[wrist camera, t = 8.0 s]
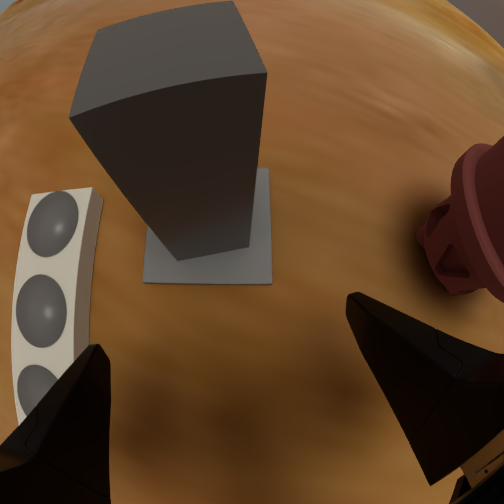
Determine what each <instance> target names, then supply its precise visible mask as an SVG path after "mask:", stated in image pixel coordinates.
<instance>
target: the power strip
mask: <svg viewBox="0 0 504 504" xmlns="http://www.w3.org/2000/svg"><path fill="white" fill-rule="evenodd" d="M103 201H104V200H103V199H102V198H101V196H100V195H99V194H98V193H97V192H96V191H95V190H94V189H93V188H82V189H72V190H63V191H55V192H47V193H40V194H33V195H32V196H31V200H30V204H29V208H28V211H27V216H26V220H25V224H24V229H23V233H22V238H21V244H20V249H19V255H18V261H17V268H16V276H15V284H14V294H13V307H12V333H11V348H12V373H13V386H14V395H15V404H16V411H17V417H18V423H19V425H20V424H21V423H22V422H23V420H24V419H25V418H26V417H27V416H28V415H29V413H30V412H31V411H32V410H33V409H34V407H35V406H37V404H38V403H39V401H40V400H41V399H42V398H43V397H44V395H45V394H46V393H47V392H48V391H49V389H50V388H51V387H52V386H53V385H54V384H55V382H56V381H57V380H58V379H59V378H60V377H61V376H62V374H63V373H64V372H65V371H66V370H67V369H68V368H69V366H70V365H71V364H72V363H73V362H74V361H75V360H76V359H77V357H78V356H79V355H80V354H81V353H82V352H83V351H84V350H85V349H86V348H87V346H88V345H89V315H90V297H91V284H92V274H93V264H94V256H95V248H96V241H97V235H98V228H99V222H100V217H101V211H102V206H103Z"/></svg>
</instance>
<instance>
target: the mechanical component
mask: <svg viewBox="0 0 504 504" xmlns="http://www.w3.org/2000/svg"><path fill="white" fill-rule="evenodd" d="M416 239H417V242H418V243H419V244H420V245H421V246H422V247H423V248H424V249H425V251H426V255H427V258H428V261H429V264H430V266H431V268H432V270H433V272H434V274H435V275H436V277H437V279H438V280H439V281H440V282H441V283H442V284H443V286H445V287H446V290H447V292H448V293H449V294H451V295H455V294H467V293H471V292H473V291H475V290H477V289H480V288H487V289H488V290H489V292H490V293H491V294H492V295H494V296H495V297H496V298H497V299H498V300H500V301H501V302H503V303H504V136H503V137H502V138H501V139H500V140H499V141H498V142H497V143H496V144H495V145H494V146H491V145H488V144H481V143H480V144H475V145H473V146H472V147H470V148H469V149H468V150H467V151H466V152H465V153H464V154H463V155H462V156H461V157H460V158H459V159H458V160H457V162H456V163H455V166H454V168H453V171H452V177H451V196H449V197H448V198H447V199H445V200H444V201H443V202H442V203H440V204H439V205H438V206H436V207H435V208H434V209H433V210H432V211H431V212H430V213H429V215H428V217H427V219H426V223H425V224H424V225H423V226H421V227H420V228H418V229H417V231H416Z"/></svg>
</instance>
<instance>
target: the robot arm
mask: <svg viewBox="0 0 504 504" xmlns="http://www.w3.org/2000/svg"><path fill="white" fill-rule="evenodd" d="M346 317H347V320H348V322H349V324H350V327H351V329H352V332H353V334H354V336H355V339H356V341H357V343H358V346H359V348H360V350H361V352H362V354H363V356H364V358H365V360H366V362H367V363H368V365H369V367H370V369H371V371H372V373H373V374H374V376H375V378H376V380H377V382H378V384H379V385H380V387H381V389H382V391H383V393H384V395H385V397H386V398H387V400H388V402H389V404H390V406H391V408H392V410H393V412H394V414H395V416H396V418H397V419H398V421H399V423H400V425H401V427H402V429H403V431H404V433H405V435H406V437H407V439H408V441H409V444H410V446H411V448H412V450H413V452H414V454H415V456H416V458H417V460H418V462H419V464H420V466H421V468H422V470H423V472H424V475H425V477H426V479H427V481H428V483H429V485H430V486H432V485H433V484H435V483H436V482H438V481H440V480H441V479H443V478H444V477H446V476H447V475H449V474H450V473H452V472H453V471H454V470H456V469H457V468H459V467H461V469H462V471H463V473H464V475H463V476H461V477H460V478H458V479H457V482H456V486H455V489H454V491H453V494H452V497H451V500H450V503H449V504H504V354H499V353H494V352H491V351H488V350H486V349H483V348H480V347H478V346H475V345H472V344H470V343H467V342H465V341H462V340H460V339H457V338H455V337H453V336H450V335H448V334H446V333H444V332H442V331H440V330H438V329H436V330H435V328H433V327H431V326H429V325H427V324H425V323H423V322H421V321H419V320H417V319H415V318H413V317H411V316H409V315H406V314H404V313H402V312H400V311H398V310H396V309H394V308H392V307H390V306H388V305H386V304H384V303H381V302H379V301H377V300H375V299H373V298H371V297H369V296H367V295H365V294H362V293H360V292H354V293H351V294H349V295H348V296H347V302H346ZM110 409H111V373H110V360H109V358H108V356H107V355H106V353H105V352H104V350H103V348H102V347H101V346H100V345H99V344H91V345H88V346H87V348H86V349H85V350H84V351H83V352H82V353H81V354H80V355H79V356H78V357H77V359H76V360H75V361H74V362H73V363H72V364H71V365H70V366H69V368H68V369H67V370H66V371H65V372H64V373H63V374H62V376H61V377H60V378H59V379H58V380H57V381H56V382H55V384H54V385H53V386H52V387H51V388H50V389H49V391H48V392H47V393H46V394H45V395H44V397H43V398H42V399H41V400H40V401H39V403H38V404H37V406H35V407H34V409H33V410H32V411H31V412H30V413H29V415H28V416H27V417H26V418H25V419H24V420H23V422H22V423H21V424H20V425H19V426H18V427H17V428H16V429H15V430H14V431H13V432H12V433H11V434H10V436H9V437H8V438H7V439H6V440H5V441H4V442H3V443H2V444H1V445H0V504H111V499H110V480H109V430H110Z"/></svg>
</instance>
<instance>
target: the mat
mask: <svg viewBox="0 0 504 504" xmlns="http://www.w3.org/2000/svg"><path fill="white" fill-rule="evenodd" d="M143 283H153V284H201V285H272V250H271V218H270V190H269V168H257V175H256V185H255V194H254V204H253V214H252V224H251V234H250V243H249V247H248V248H242V249H237V250H232V251H227V252H222V253H217V254H212V255H207V256H202V257H197V258H192V259H187V260H182V261H177V260H176V259H175V258H174V256H173V255H172V254H171V253H170V252H169V251H168V249H167V248H166V247H165V246H164V245H163V243H162V242H161V241H160V240H159V238H158V237H157V236H156V235H155V234H154V232H153V231H152V230H151V229H150V227H149V226H148V227H147V236H146V246H145V256H144V269H143Z"/></svg>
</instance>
